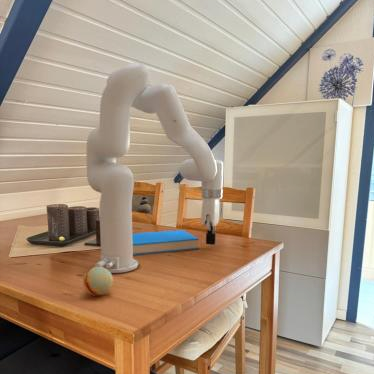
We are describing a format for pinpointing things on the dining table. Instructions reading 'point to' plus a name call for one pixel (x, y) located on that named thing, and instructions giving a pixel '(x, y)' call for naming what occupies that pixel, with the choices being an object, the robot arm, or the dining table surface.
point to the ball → (98, 281)
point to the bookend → (97, 240)
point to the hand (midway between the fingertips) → (210, 243)
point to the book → (163, 242)
